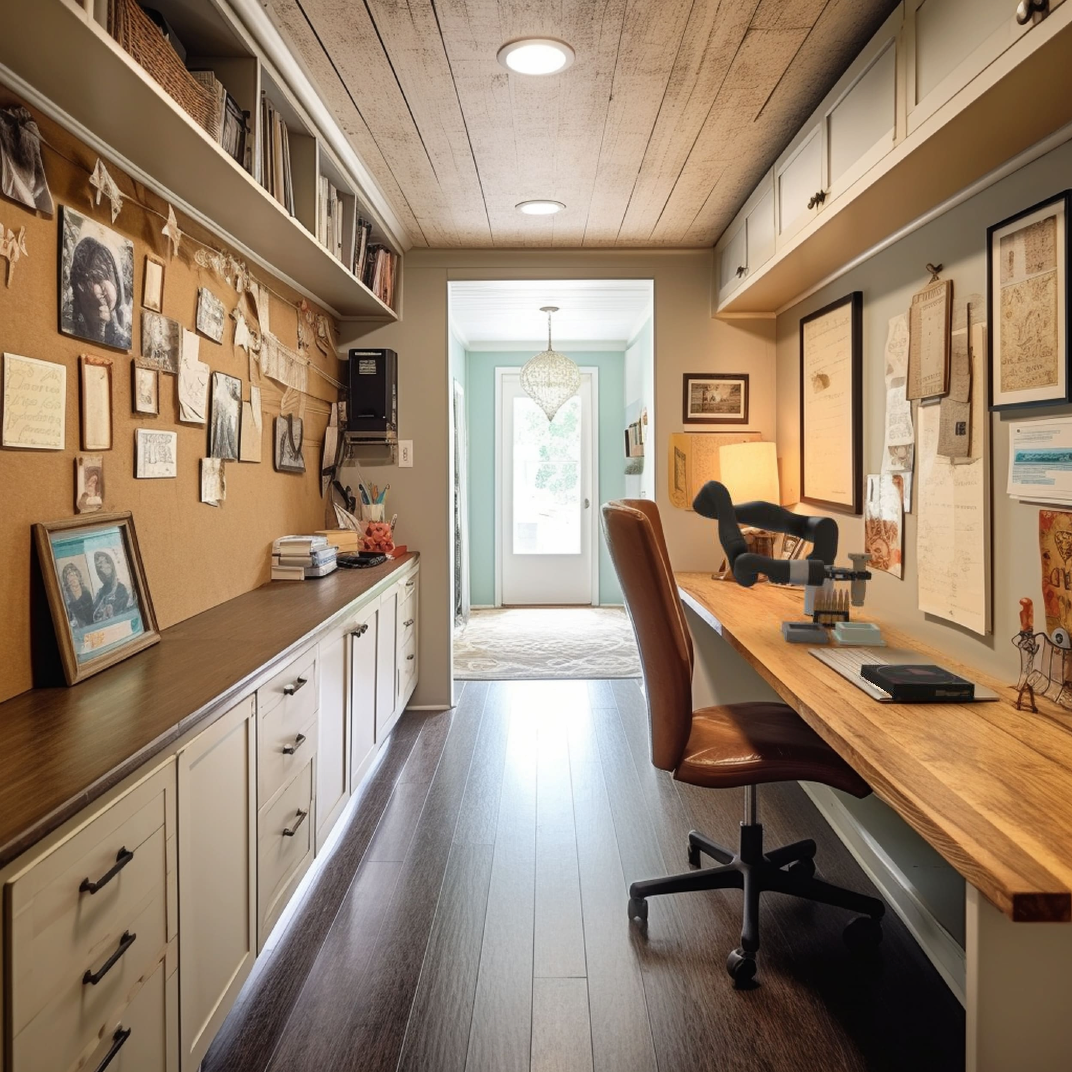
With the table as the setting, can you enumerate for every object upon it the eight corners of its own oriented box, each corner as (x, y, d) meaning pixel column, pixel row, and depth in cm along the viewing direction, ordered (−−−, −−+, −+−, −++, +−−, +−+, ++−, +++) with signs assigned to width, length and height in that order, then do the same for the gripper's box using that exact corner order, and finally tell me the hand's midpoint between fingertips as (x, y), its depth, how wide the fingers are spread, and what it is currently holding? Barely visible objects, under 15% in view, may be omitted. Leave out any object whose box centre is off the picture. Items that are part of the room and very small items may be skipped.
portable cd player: (932, 681, 173) (933, 664, 173) (973, 703, 156) (974, 684, 156) (859, 681, 173) (860, 663, 173) (892, 702, 156) (893, 683, 156)
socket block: (781, 631, 229) (781, 621, 229) (820, 632, 227) (820, 622, 226) (786, 641, 214) (786, 631, 213) (827, 643, 211) (828, 633, 211)
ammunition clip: (848, 627, 236) (849, 588, 235) (849, 628, 234) (850, 589, 233) (812, 625, 238) (813, 587, 238) (812, 626, 237) (813, 588, 236)
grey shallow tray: (830, 633, 226) (831, 619, 226) (874, 635, 223) (874, 621, 223) (839, 644, 210) (839, 630, 210) (886, 646, 208) (886, 632, 207)
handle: (842, 604, 219) (845, 552, 217) (865, 605, 218) (868, 553, 217) (849, 607, 214) (851, 554, 213) (872, 607, 213) (874, 554, 212)
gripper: (809, 562, 212) (875, 564, 208) (803, 557, 225) (865, 559, 221) (808, 588, 212) (874, 591, 208) (802, 582, 226) (864, 585, 222)
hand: (869, 575), depth 215 cm, fingers closed on handle, 3 cm apart
